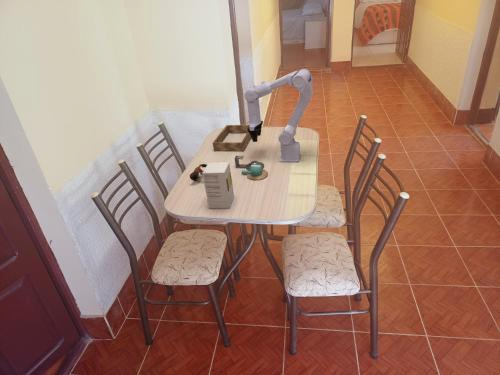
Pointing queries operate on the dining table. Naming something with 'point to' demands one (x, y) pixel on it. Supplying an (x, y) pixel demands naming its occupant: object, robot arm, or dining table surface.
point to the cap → (254, 170)
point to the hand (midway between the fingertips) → (256, 138)
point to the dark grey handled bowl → (246, 164)
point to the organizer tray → (232, 146)
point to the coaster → (263, 176)
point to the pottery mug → (197, 172)
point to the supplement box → (218, 185)
